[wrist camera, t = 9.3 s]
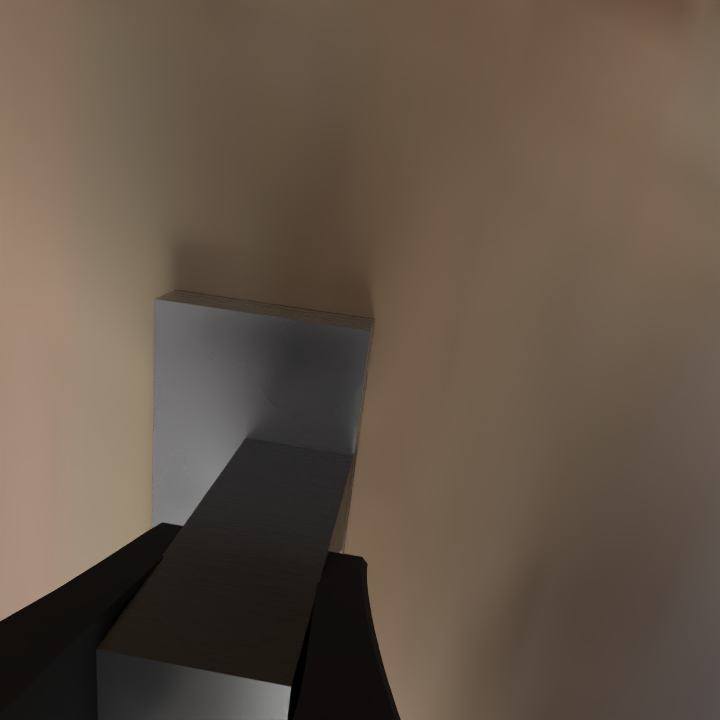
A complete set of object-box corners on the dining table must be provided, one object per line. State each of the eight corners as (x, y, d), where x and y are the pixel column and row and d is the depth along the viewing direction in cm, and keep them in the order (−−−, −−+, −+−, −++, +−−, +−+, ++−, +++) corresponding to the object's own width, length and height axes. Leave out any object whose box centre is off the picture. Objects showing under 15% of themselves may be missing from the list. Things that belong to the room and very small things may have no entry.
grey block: (374, 319, 13) (314, 477, 6) (335, 616, 15) (260, 962, 8) (174, 289, 13) (-95, 409, 6) (168, 585, 15) (-31, 895, 9)
